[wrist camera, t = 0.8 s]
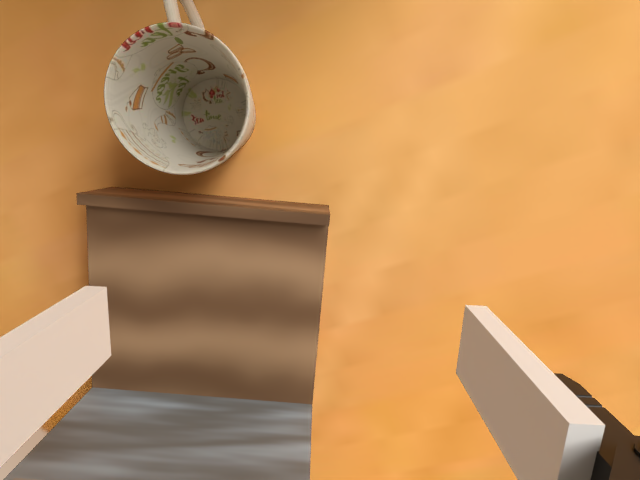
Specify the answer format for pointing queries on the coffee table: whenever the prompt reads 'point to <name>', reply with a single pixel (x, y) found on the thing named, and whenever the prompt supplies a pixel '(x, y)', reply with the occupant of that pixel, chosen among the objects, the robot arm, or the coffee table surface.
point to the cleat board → (196, 341)
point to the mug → (178, 96)
